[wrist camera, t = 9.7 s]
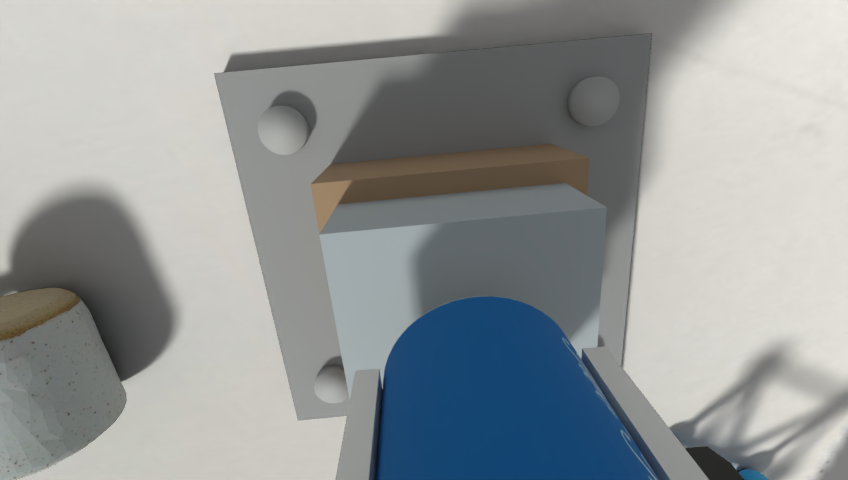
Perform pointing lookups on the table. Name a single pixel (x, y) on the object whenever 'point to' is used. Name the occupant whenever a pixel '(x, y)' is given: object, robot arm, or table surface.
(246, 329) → the table surface
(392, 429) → the beverage can
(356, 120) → the tower base
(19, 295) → the ceramic mug
